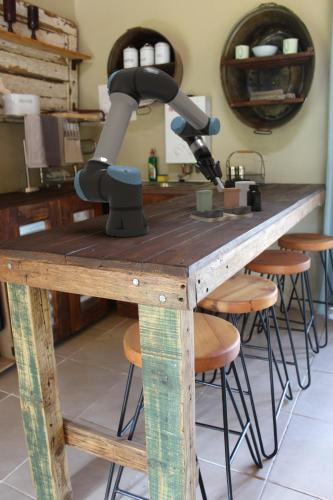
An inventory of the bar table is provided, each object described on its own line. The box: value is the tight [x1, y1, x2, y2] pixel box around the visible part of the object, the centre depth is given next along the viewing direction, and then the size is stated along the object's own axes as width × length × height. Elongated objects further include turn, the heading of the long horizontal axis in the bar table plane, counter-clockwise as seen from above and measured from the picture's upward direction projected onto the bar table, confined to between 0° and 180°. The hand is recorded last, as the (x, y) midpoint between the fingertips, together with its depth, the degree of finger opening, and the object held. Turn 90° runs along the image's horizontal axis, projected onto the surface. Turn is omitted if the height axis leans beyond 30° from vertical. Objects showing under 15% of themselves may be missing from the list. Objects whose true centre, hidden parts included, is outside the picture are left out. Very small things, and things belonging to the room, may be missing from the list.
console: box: [189, 206, 254, 223], centre depth 181 cm, size 22×14×4 cm, turn 118°
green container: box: [194, 189, 214, 212], centre depth 179 cm, size 6×5×10 cm
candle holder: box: [234, 180, 257, 206], centre depth 211 cm, size 10×10×12 cm
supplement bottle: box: [247, 183, 263, 212], centre depth 198 cm, size 7×7×12 cm
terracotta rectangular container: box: [222, 187, 241, 209], centre depth 185 cm, size 6×5×10 cm
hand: (222, 190), depth 192 cm, fingers closed
